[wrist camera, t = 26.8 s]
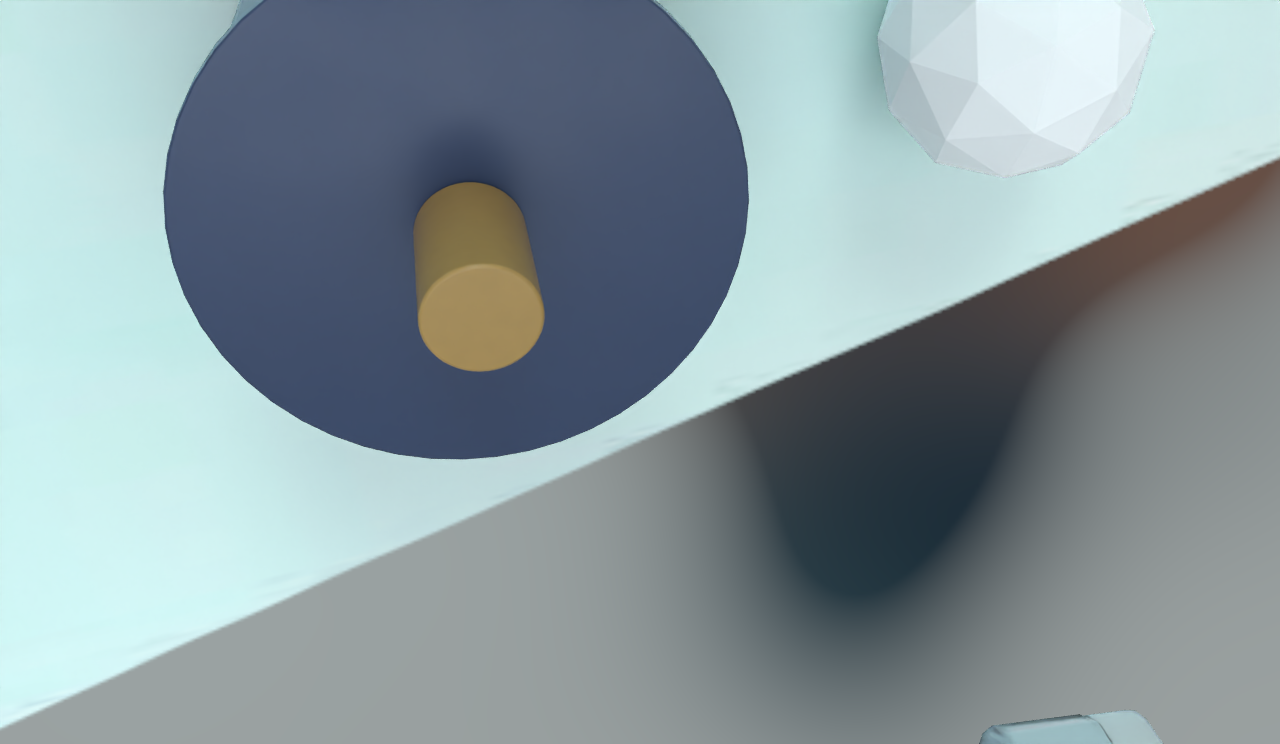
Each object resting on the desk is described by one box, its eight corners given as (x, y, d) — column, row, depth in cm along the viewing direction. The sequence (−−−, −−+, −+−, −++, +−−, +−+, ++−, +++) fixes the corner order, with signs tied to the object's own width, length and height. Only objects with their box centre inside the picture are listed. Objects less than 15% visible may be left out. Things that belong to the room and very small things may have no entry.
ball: (970, 17, 42) (1089, 203, 39) (789, 42, 38) (908, 250, 36) (1112, -161, 35) (1264, 48, 33) (911, -151, 32) (1066, 86, 29)
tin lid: (653, -171, 24) (709, -119, 20) (788, 335, 32) (849, 449, 28) (48, 48, 25) (-20, 144, 21) (326, 499, 32) (319, 635, 28)
